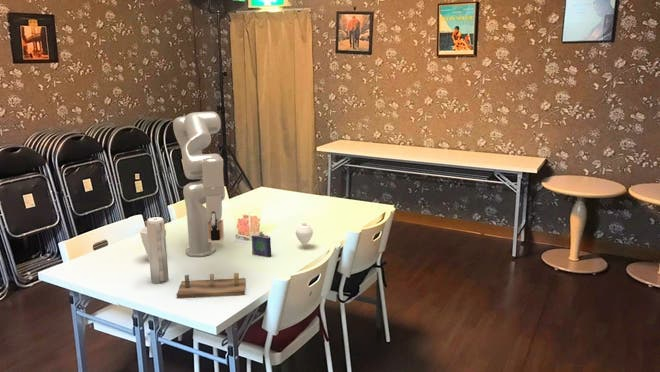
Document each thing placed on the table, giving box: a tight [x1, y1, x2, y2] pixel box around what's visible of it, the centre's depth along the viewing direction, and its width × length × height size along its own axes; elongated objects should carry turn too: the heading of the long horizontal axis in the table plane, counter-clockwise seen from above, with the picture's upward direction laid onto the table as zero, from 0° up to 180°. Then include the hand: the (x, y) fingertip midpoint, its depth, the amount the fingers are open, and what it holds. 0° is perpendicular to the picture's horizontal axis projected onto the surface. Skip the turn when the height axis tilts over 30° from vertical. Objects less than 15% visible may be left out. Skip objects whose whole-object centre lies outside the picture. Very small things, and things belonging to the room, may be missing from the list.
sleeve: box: [208, 219, 225, 243], centre depth 207 cm, size 5×5×7 cm
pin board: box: [176, 272, 247, 299], centre depth 204 cm, size 12×24×6 cm, turn 96°
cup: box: [139, 226, 167, 262], centre depth 233 cm, size 10×10×14 cm
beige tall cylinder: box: [146, 216, 170, 285], centre depth 211 cm, size 6×6×25 cm
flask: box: [251, 231, 272, 258], centre depth 239 cm, size 9×3×11 cm, turn 65°
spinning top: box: [295, 221, 314, 249], centre depth 247 cm, size 8×8×12 cm
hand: (216, 237), depth 208 cm, fingers closed on sleeve, 5 cm apart
